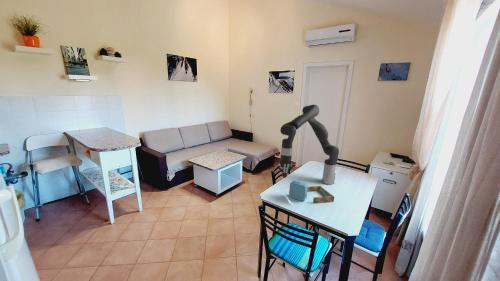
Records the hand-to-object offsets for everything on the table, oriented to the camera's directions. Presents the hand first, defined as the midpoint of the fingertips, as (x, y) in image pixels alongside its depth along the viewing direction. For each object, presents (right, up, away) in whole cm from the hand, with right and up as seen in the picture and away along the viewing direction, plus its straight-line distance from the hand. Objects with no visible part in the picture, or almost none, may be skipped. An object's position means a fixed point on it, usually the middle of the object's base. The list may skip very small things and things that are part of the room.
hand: (284, 177), depth 142 cm
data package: (+11, -17, +6) cm, 21 cm away
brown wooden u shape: (+27, -16, +10) cm, 33 cm away
